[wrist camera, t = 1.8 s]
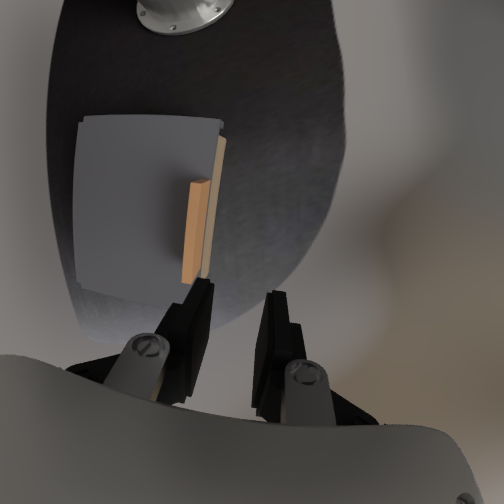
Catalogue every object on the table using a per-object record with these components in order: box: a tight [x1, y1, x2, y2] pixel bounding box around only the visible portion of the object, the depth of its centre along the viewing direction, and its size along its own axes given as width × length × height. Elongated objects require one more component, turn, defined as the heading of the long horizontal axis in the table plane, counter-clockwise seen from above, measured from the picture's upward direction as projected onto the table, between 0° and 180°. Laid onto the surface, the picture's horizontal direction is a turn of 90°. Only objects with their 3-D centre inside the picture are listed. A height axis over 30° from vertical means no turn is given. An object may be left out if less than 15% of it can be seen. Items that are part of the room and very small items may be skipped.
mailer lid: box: [73, 115, 224, 310], centre depth 23 cm, size 18×14×6 cm
